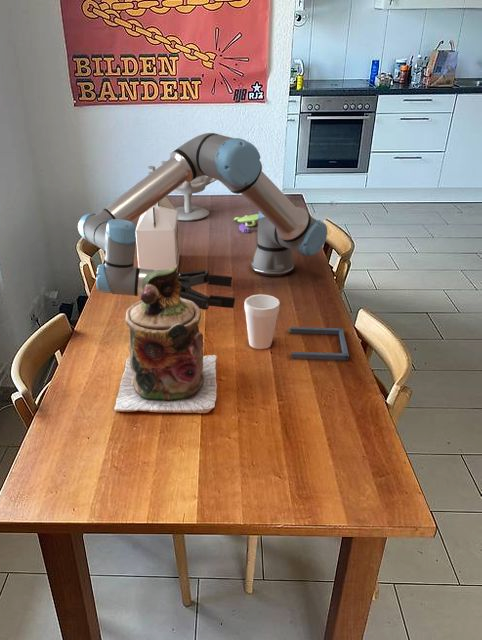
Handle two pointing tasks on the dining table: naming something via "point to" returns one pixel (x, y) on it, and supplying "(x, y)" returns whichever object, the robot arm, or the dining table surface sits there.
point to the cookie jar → (166, 352)
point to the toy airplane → (247, 222)
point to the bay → (321, 356)
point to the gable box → (158, 237)
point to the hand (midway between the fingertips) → (232, 292)
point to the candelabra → (187, 189)
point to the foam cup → (261, 319)
